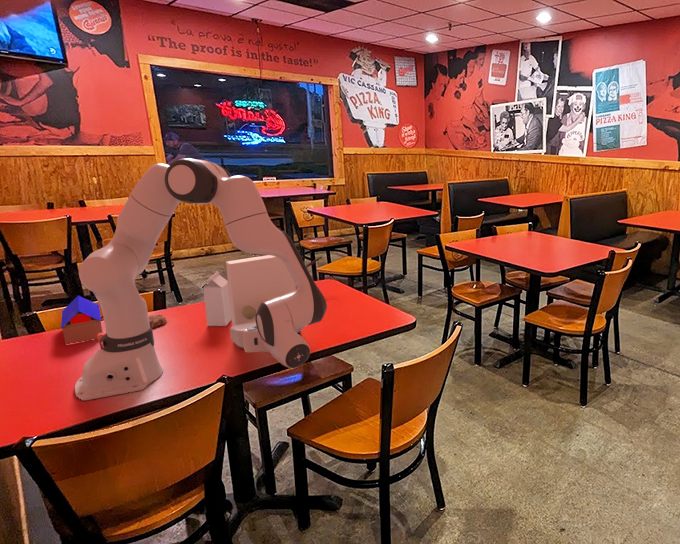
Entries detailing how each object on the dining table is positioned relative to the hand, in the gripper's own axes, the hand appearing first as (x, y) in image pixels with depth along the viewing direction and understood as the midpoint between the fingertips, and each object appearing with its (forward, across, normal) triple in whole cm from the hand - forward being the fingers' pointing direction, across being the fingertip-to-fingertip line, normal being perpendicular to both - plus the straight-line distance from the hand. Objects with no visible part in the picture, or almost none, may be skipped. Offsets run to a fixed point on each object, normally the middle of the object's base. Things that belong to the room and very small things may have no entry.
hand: (257, 319), depth 135 cm
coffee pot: (+49, -39, +12) cm, 64 cm away
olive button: (+8, 0, +2) cm, 8 cm away
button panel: (+12, -7, +12) cm, 18 cm away
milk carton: (+34, +3, +12) cm, 36 cm away
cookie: (+47, +25, +13) cm, 55 cm away
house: (+53, +47, +13) cm, 72 cm away
